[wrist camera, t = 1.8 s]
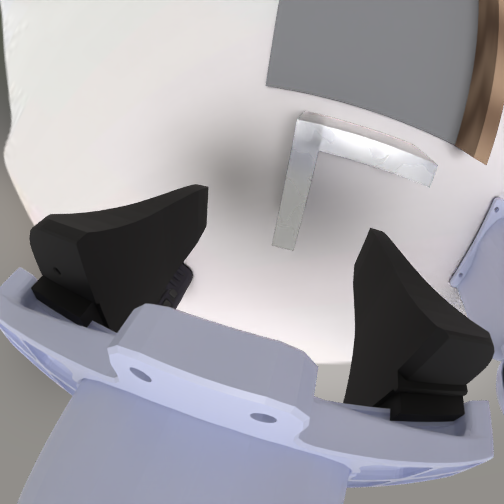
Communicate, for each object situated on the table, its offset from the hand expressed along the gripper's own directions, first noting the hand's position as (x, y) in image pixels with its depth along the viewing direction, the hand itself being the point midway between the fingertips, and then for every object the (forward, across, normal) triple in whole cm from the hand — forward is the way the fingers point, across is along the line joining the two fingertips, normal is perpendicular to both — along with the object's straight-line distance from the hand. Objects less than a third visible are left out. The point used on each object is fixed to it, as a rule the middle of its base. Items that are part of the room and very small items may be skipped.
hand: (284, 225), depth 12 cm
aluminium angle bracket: (+9, -3, 0) cm, 10 cm away
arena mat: (+9, -4, -14) cm, 17 cm away
